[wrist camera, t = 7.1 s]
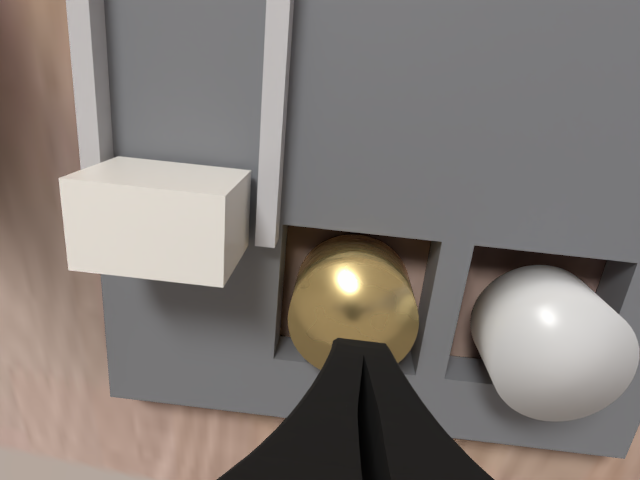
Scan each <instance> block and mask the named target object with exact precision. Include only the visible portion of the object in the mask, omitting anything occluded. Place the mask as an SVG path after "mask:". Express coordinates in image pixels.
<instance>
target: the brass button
mask: <svg viewBox="0 0 640 480" xmlns="http://www.w3.org/2000/svg"><path fill="white" fill-rule="evenodd" d="M418 328H419V314H418V309H417V305H416V302H415V298H414V294H413V291H412V287H411V284H410V280H409V277H408V273H407V270H406V267H405V265H404V263H403V261H402V260H401V259H400V257H399V256H398V255H397V253H396V252H395V251H394V250H393V249H391V248H390V247H389V246H388V245H386V244H384V243H383V242H381V241H379V240H377V239H374V238H371V237H368V236H363V235H342V236H337V237H334V238H331V239H328V240H326V241H324V242H322V243H321V244H319V245H318V246H316V247H315V248H314V249H313V250H312V251H311V252H310V253H309V254H308V255H307V256H306V258H305V259H304V261H303V263H302V265H301V267H300V269H299V273H298V276H297V280H296V284H295V287H294V291H293V295H292V299H291V303H290V306H289V311H288V329H289V333H290V336H291V339H292V341H293V344H294V346H295V347H296V349H297V350H298V352H299V353H300V354H301V355H302V356H303V358H305V359H306V360H307V361H308V362H309V363H310V364H312V365H313V366H314V367H316V368H318V369H320V370H321V369H322V367H323V365H324V363H325V361H326V359H327V357H328V355H329V353H330V350H331V347H332V343H333V341H334V340H335V339H337V338H345V339H353V340H362V341H370V342H379V343H386V344H387V346H388V347H389V349H390V350H391V352H392V354H393V356H394V358H395V360H396V361H397V363H399V362H400V361H401V360H402V359H403V358H404V357H405V356H406V355H407V354H408V352H409V351H410V349H411V348H412V346H413V344H414V342H415V340H416V337H417V333H418Z"/></svg>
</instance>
